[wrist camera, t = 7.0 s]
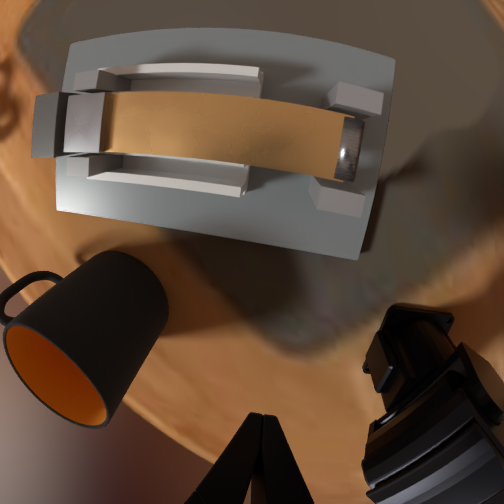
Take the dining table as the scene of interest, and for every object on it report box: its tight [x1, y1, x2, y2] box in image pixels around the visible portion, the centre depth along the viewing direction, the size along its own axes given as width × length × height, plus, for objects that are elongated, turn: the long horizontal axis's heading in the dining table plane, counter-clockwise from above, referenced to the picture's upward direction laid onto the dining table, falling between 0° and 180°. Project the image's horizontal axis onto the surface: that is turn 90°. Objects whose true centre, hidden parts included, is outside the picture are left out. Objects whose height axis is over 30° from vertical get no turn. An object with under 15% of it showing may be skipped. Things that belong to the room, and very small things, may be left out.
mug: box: [0, 251, 168, 429], centre depth 17 cm, size 8×12×10 cm
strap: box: [64, 92, 365, 182], centre depth 12 cm, size 15×3×2 cm, turn 82°
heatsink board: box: [31, 28, 396, 261], centre depth 14 cm, size 22×13×6 cm, turn 82°
